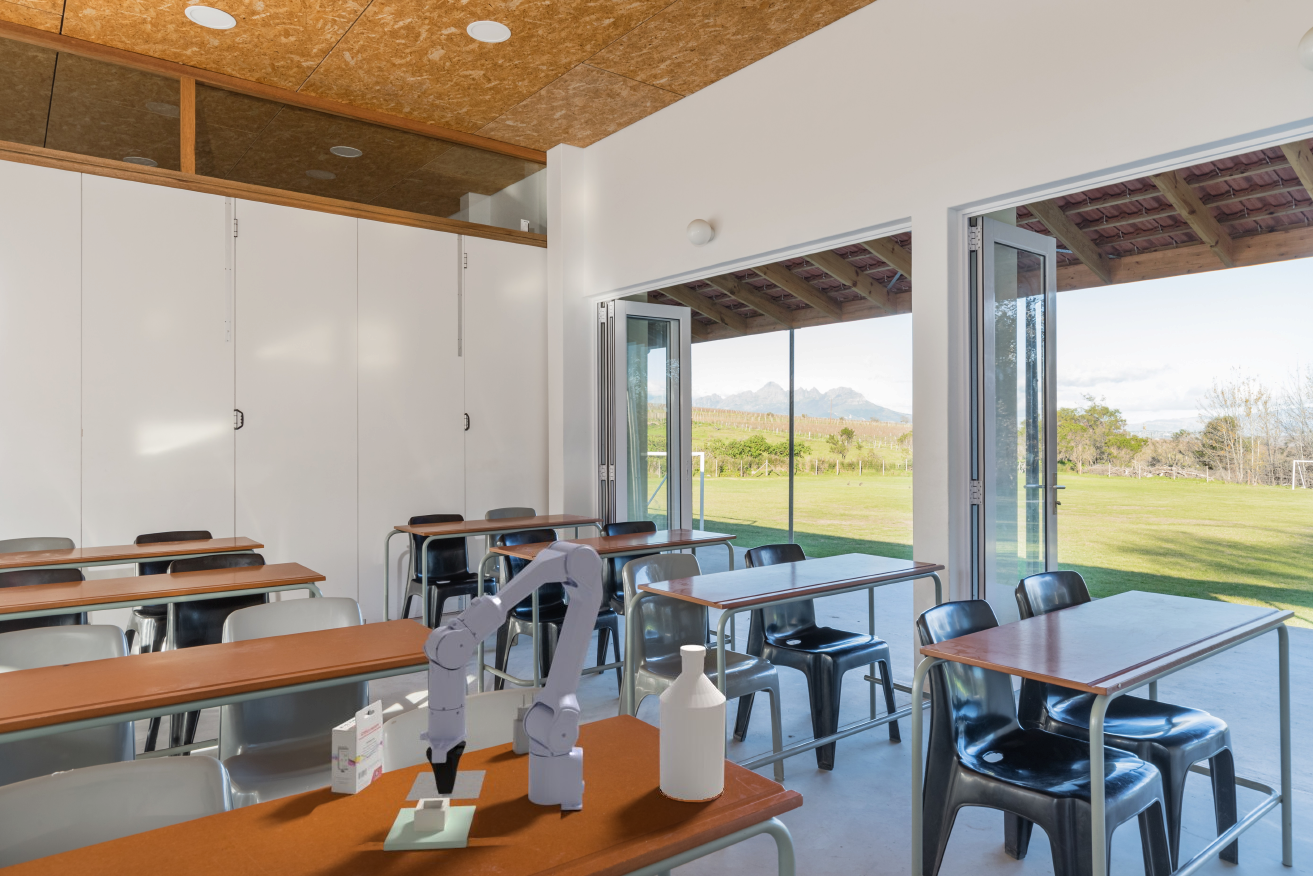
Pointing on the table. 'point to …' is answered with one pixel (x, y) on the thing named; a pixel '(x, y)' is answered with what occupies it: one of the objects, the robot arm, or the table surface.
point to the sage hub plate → (451, 837)
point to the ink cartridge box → (357, 751)
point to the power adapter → (521, 729)
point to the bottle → (692, 732)
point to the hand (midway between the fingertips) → (445, 792)
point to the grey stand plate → (464, 788)
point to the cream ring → (431, 814)
